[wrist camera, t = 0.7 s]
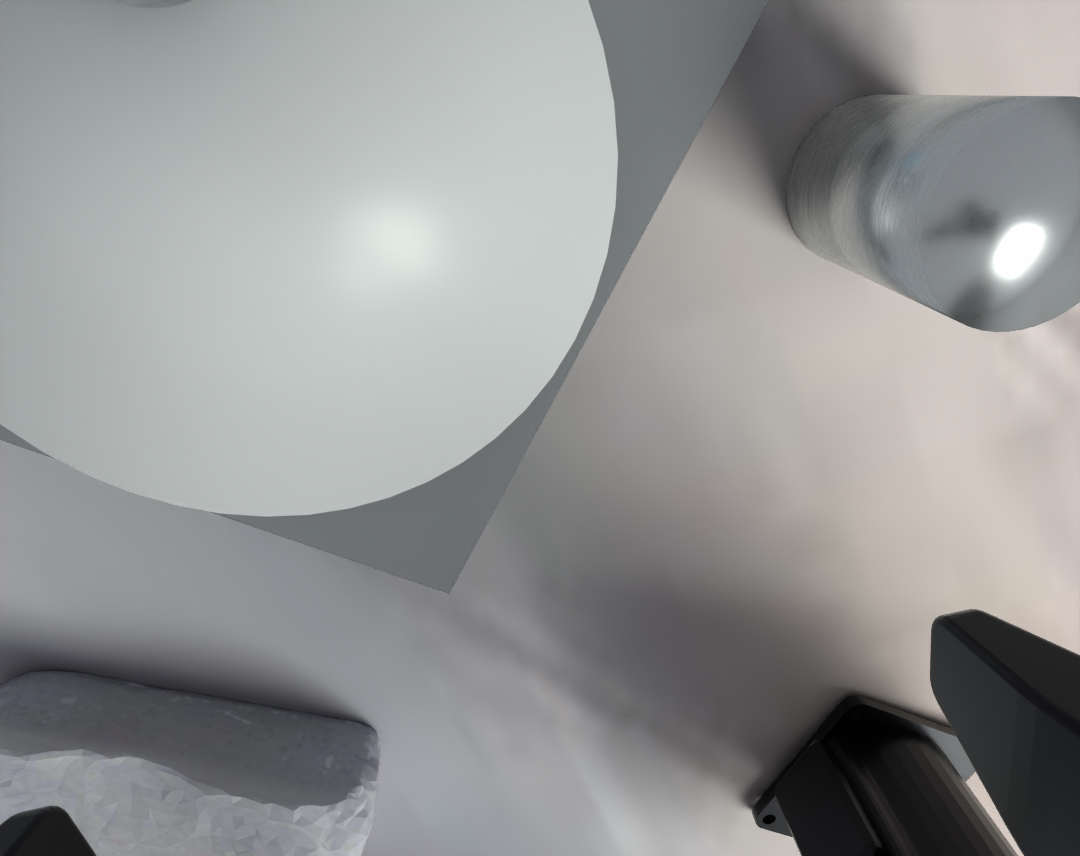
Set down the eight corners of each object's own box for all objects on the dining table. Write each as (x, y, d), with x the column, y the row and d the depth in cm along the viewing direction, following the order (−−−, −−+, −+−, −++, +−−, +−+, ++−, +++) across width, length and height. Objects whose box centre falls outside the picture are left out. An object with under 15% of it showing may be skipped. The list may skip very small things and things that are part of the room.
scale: (759, -35, 16) (818, -60, 13) (450, 551, 22) (448, 617, 19) (-43, -566, 12) (-193, -758, 9) (-169, 328, 18) (-286, 372, 15)
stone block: (347, 850, 29) (402, 708, 24) (316, 994, 26) (373, 864, 20) (31, 795, 27) (11, 627, 22) (-57, 943, 23) (-107, 783, 18)
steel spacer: (975, 143, 18) (1193, 166, 13) (878, 288, 20) (1036, 365, 14) (849, 61, 17) (1027, 48, 12) (755, 220, 18) (874, 274, 13)
